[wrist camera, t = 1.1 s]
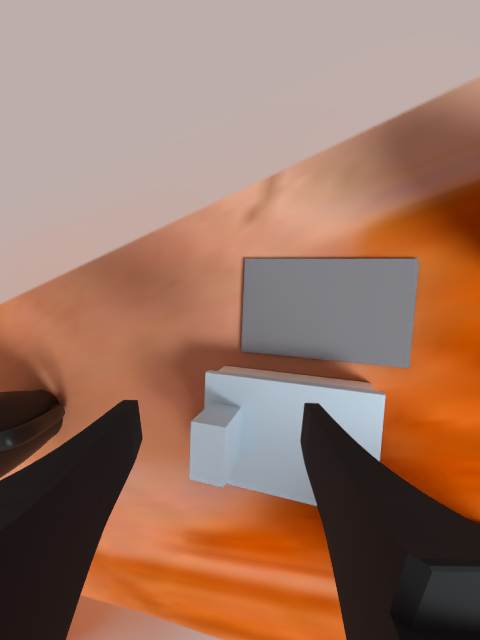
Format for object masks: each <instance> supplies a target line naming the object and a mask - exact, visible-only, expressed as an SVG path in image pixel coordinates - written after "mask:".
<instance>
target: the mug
mask: <svg viewBox="0 0 480 640" xmlns="http://www.w3.org/2000/svg"><path fill="white" fill-rule="evenodd" d="M64 414H65V409H64V407H63V406H62V405H60V404H59V402H58V400H57V399H56V398H55V396H53V395H52V394H51V393H49V392H47V391H44V390H36V391H13V392H0V478H1V477H2V476H4V475H5V474H7V473H8V472H10V471H11V470H13V469H14V468H16V467H17V466H18V465H20V464H21V463H22V462H24V461H25V460H26V459H28V458H29V457H30V456H31V455H33V454H34V453H35V452H36V451H37V450H38V449H40V448H41V447H42V446H43V445H44V444H45V443H46V442H47V441H48V440H50V439H51V438H52V437H53V436H54V435H56V434H57V433H58V431H59V430H60V428H61V426H62V421H63V416H64Z"/></svg>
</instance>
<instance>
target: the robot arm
mask: <svg viewBox="0 0 480 640" xmlns="http://www.w3.org/2000/svg"><path fill="white" fill-rule="evenodd" d="M142 439H143V438H142V430H141V422H140V415H139V407H138V400H123V401H122V402H120V403H119V404H117V405H116V406H115V407H113V408H112V409H111V410H109V411H108V412H107V413H105V414H104V415H103V416H102V417H100V418H99V419H98V420H96V421H95V422H94V423H92V424H91V425H89V426H88V427H87V428H85V429H84V430H83V431H81V432H80V433H78V434H77V435H76V436H74V437H73V438H71V439H70V440H68V441H67V442H65V443H64V444H63V445H61V446H60V447H58V448H57V449H55V450H53V451H52V452H50V453H49V454H47V455H46V456H44V457H42V458H41V459H39V460H37V461H35V462H34V463H32V464H30V465H29V466H27V467H25V468H23V469H21V470H20V471H18V472H16V473H14V474H12V475H10V476H8V477H6V478H4V479H2V480H1V481H0V640H66V637H67V634H68V631H69V628H70V625H71V622H72V619H73V616H74V613H75V609H76V606H77V603H78V600H79V597H80V594H81V591H82V588H83V585H84V583H85V580H86V577H87V574H88V571H89V568H90V565H91V562H92V560H93V557H94V554H95V551H96V549H97V546H98V543H99V541H100V538H101V535H102V533H103V530H104V527H105V525H106V523H107V520H108V518H109V516H110V514H111V512H112V510H113V507H114V505H115V503H116V501H117V499H118V497H119V495H120V493H121V491H122V488H123V486H124V484H125V482H126V480H127V478H128V476H129V473H130V471H131V469H132V467H133V465H134V463H135V460H136V457H137V454H138V451H139V448H140V445H141V442H142ZM300 443H301V448H302V454H303V459H304V464H305V468H306V471H307V474H308V478H309V481H310V484H311V487H312V491H313V494H314V497H315V500H316V503H317V507H318V510H319V513H320V516H321V520H322V523H323V527H324V531H325V535H326V539H327V544H328V548H329V553H330V558H331V562H332V567H333V572H334V577H335V582H336V587H337V592H338V597H339V602H340V607H341V613H342V618H343V623H344V628H345V634H346V639H347V640H480V525H478V524H476V523H474V522H472V521H470V520H468V519H467V518H465V517H463V516H461V515H459V514H458V513H456V512H454V511H452V510H451V509H449V508H447V507H446V506H444V505H442V504H440V503H439V502H437V501H436V500H434V499H432V498H431V497H429V496H427V495H426V494H424V493H423V492H421V491H420V490H418V489H417V488H415V487H414V486H412V485H411V484H409V483H408V482H406V481H405V480H403V479H402V478H401V477H399V476H398V475H396V474H395V473H394V472H392V471H391V470H390V469H389V468H387V467H386V466H385V465H383V464H382V463H381V462H379V461H378V460H377V459H376V458H375V457H373V456H372V455H371V454H370V453H369V452H368V451H366V450H365V449H364V448H363V447H362V446H361V445H360V444H358V443H357V442H356V441H355V440H354V439H353V438H352V437H351V436H350V435H349V434H348V433H347V432H346V431H345V430H344V429H343V428H342V427H341V426H340V425H339V424H338V423H337V422H336V421H335V420H334V419H333V418H332V417H331V416H330V415H329V414H328V413H327V412H326V410H325V409H324V408H323V407H322V406H321V405H320V404H319V403H304V411H303V420H302V429H301V438H300Z"/></svg>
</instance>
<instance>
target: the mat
mask: <svg viewBox="0 0 480 640" xmlns="http://www.w3.org/2000/svg"><path fill="white" fill-rule="evenodd" d="M418 269H419V259H245V272H244V295H243V319H242V342H241V352H251V353H261V354H271V355H281V356H291V357H301V358H311V359H321V360H332V361H342V362H352V363H362V364H372V365H382V366H392V367H402V368H409V366H410V355H411V344H412V333H413V322H414V312H415V301H416V290H417V279H418Z"/></svg>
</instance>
